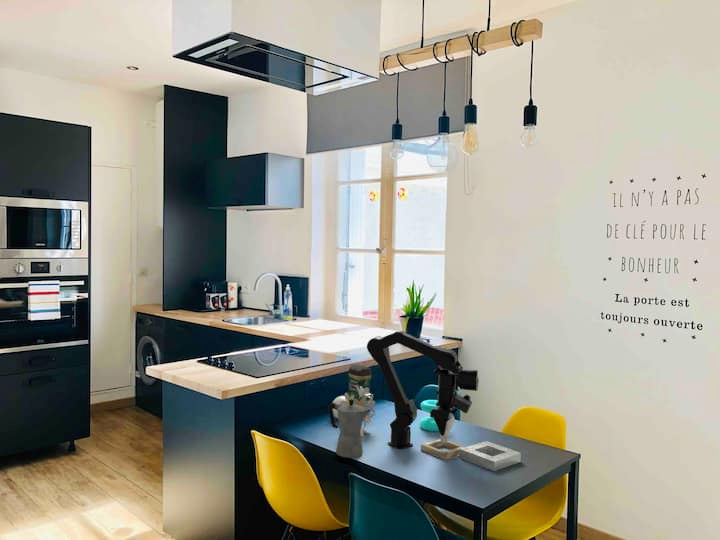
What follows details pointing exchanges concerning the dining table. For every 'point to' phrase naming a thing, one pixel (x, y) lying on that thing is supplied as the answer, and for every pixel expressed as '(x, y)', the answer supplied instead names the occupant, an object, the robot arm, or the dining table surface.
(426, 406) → the donuts
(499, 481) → the dining table surface
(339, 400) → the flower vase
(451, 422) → the lightbulb
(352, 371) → the coffee jar
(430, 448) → the wooden picture frame
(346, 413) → the coffeepot
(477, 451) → the socket
